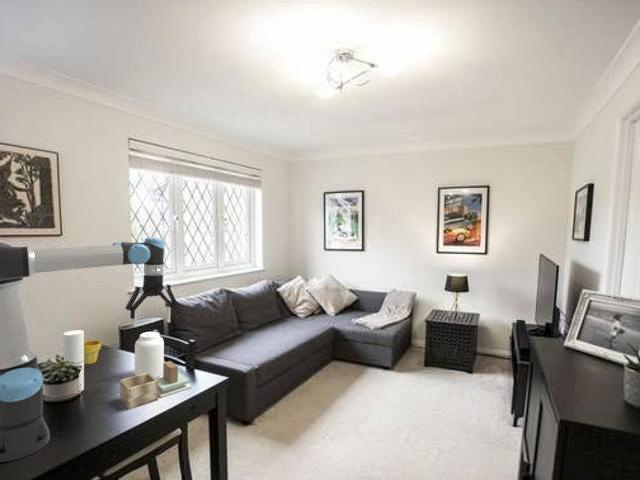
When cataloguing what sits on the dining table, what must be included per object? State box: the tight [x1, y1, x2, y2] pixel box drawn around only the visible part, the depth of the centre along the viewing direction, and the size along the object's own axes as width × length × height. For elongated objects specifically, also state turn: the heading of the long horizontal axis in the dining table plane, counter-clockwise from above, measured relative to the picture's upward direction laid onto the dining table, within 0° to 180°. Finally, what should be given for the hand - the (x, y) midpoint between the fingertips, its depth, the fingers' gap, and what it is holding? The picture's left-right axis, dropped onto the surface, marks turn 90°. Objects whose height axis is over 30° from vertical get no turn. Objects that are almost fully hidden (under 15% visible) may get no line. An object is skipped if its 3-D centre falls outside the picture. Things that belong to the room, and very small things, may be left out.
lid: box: [155, 360, 190, 393], centre depth 153 cm, size 12×12×10 cm
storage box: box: [119, 373, 159, 410], centre depth 142 cm, size 11×11×8 cm
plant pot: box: [84, 339, 102, 365], centre depth 179 cm, size 10×10×10 cm
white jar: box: [134, 331, 165, 379], centre depth 165 cm, size 12×12×20 cm
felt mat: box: [158, 383, 192, 399], centre depth 153 cm, size 13×13×1 cm
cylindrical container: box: [62, 329, 85, 393], centre depth 148 cm, size 7×7×25 cm
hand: (151, 324), depth 148 cm, fingers open, 13 cm apart
